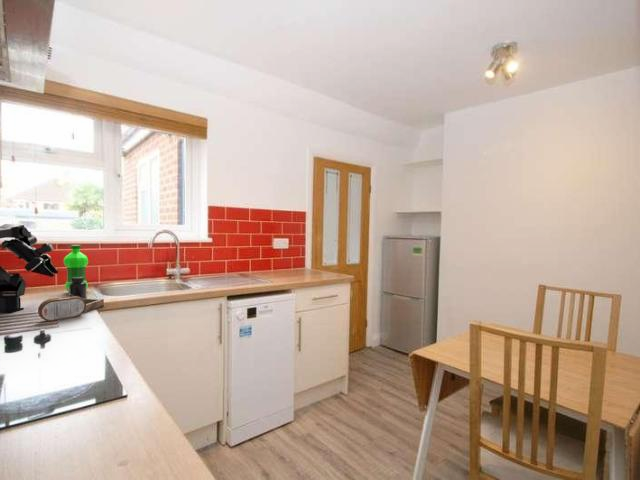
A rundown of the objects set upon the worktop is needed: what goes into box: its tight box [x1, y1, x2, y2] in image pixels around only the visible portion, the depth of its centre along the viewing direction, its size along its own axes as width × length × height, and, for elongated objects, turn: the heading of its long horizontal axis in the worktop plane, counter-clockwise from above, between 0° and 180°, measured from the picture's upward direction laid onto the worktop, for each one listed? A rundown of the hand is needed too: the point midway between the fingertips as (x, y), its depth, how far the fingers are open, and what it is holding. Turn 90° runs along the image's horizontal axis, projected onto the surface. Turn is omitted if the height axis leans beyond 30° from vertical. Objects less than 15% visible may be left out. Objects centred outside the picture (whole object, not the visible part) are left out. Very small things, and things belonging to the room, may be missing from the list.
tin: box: [37, 296, 86, 322], centre depth 130 cm, size 15×3×8 cm, turn 141°
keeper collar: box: [82, 298, 105, 314], centre depth 145 cm, size 12×12×3 cm
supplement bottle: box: [68, 276, 88, 299], centre depth 155 cm, size 7×7×12 cm
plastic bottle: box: [63, 244, 89, 293], centre depth 174 cm, size 10×10×25 cm
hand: (55, 274), depth 150 cm, fingers open, 9 cm apart
